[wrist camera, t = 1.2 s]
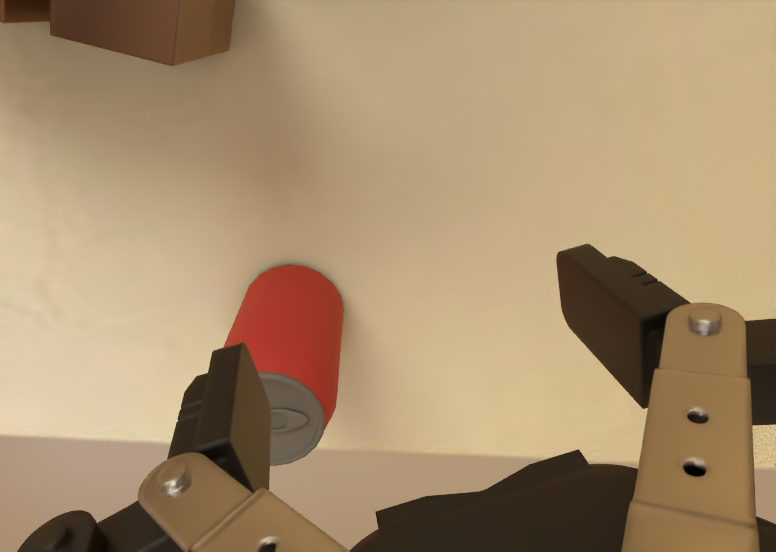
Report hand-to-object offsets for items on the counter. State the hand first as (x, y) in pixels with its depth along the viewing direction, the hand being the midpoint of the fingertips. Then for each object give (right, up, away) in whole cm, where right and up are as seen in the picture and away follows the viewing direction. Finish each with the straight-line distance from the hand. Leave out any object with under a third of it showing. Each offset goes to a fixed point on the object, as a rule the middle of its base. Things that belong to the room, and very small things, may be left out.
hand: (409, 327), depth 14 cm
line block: (-11, +16, +16) cm, 25 cm away
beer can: (-7, -1, +24) cm, 25 cm away
